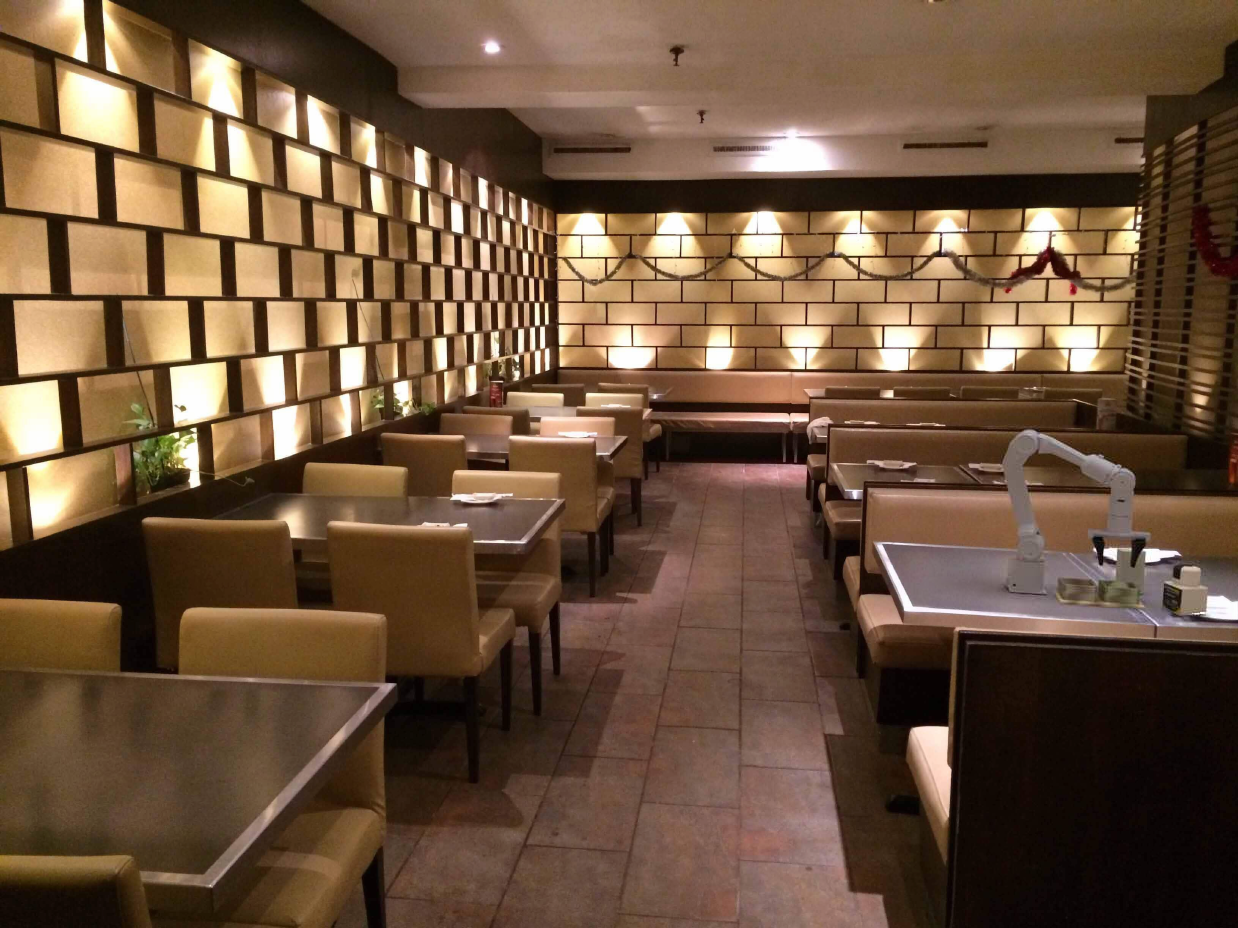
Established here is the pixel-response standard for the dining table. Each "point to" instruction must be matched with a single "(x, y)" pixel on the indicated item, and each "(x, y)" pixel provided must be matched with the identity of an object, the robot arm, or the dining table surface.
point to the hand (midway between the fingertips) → (1116, 565)
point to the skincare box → (1130, 568)
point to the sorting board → (1087, 590)
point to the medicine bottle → (1185, 591)
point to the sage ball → (1118, 584)
